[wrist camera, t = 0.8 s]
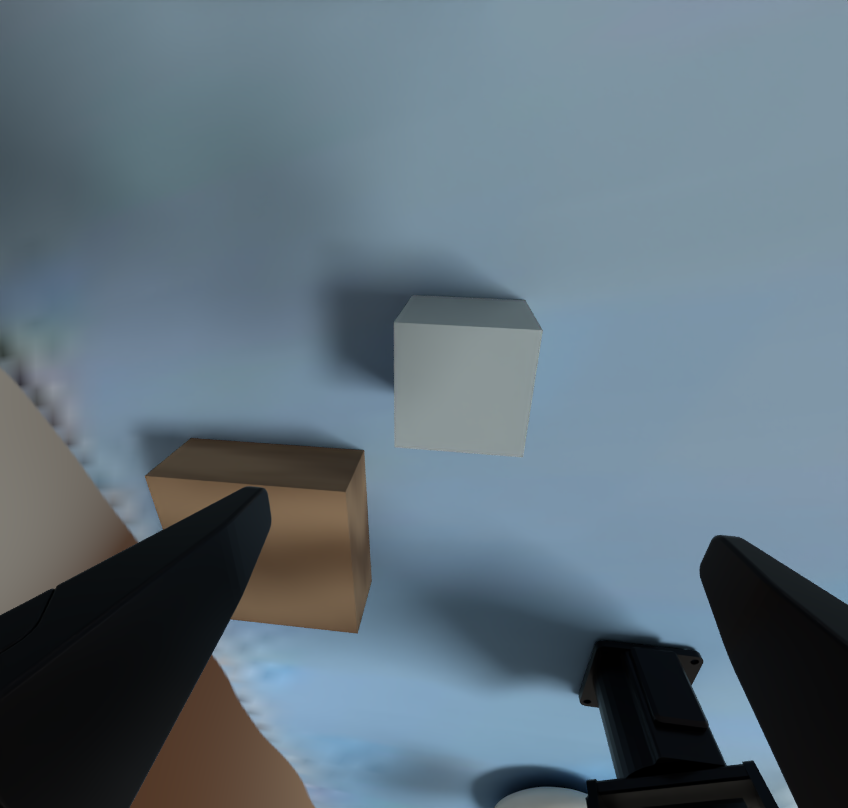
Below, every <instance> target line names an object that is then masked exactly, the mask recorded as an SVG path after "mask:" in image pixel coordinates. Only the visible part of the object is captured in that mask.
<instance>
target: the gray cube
mask: <svg viewBox="0 0 848 808" xmlns="http://www.w3.org/2000/svg"><path fill="white" fill-rule="evenodd" d="M542 331H543V330H542V328H541V326H540V325H539V323H538V321H537V319H536V318H535V316H534V314H533V313H532V311H531V309H530V307H529V306H528V304H527V302H526V300H510V299H489V298H467V297H446V296H425V295H412V297H411V298H410V300H409V301H408V302H407V304H406V305H405V307H404V308H403V310H402V311H401V313H400V314H399V316H398V317H397V319H396V320H395V321H394V419H395V447H398V448H411V449H424V450H436V451H449V452H462V453H474V454H487V455H500V456H513V457H523V454H524V448H525V441H526V435H527V428H528V422H529V415H530V409H531V402H532V396H533V389H534V383H535V376H536V370H537V364H538V357H539V351H540V344H541V338H542Z"/></svg>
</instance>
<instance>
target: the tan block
mask: <svg viewBox="0 0 848 808" xmlns="http://www.w3.org/2000/svg"><path fill="white" fill-rule="evenodd" d="M145 478H146V481H147V484H148V487H149V490H150V493H151V496H152V499H153V502H154V505H155V508H156V511H157V513H158V516H159V519H160V522H161V525H162V528H163V530H164V529H165V528H167V527H169V526H171V525H173V524H175V523H177V522H179V521H181V520H183V519H184V518H186V517H188V516H190V515H192V514H194V513H196V512H198V511H200V510H201V509H203V508H205V507H207V506H209V505H211V504H213V503H215V502H217V501H218V500H220V499H222V498H224V497H226V496H228V495H230V494H232V493H234V492H236V491H237V490H239V489H241V488H243V487H246V486H253V487H262V488H265V489H266V490H267V493H268V497H269V504H270V510H271V517H272V522H271V528H270V531H269V533H268V536H267V538H266V540H265V543H264V545H263V548H262V550H261V553H260V555H259V558H258V560H257V562H256V565H255V567H254V570H253V572H252V575H251V577H250V580H249V582H248V584H247V587H246V589H245V591H244V594H243V596H242V598H241V600H240V602H239V604H238V606H237V608H236V610H235V612H234V613H233V615H232V617H231V619H232V620H241V621H250V622H259V623H268V624H277V625H286V626H295V627H304V628H313V629H322V630H331V631H340V632H349V633H358V630H359V626H360V623H361V619H362V615H363V611H364V608H365V604H366V600H367V596H368V593H369V589H370V585H371V582H372V580H371V562H370V544H369V527H368V509H367V492H366V474H365V456H364V450H353V449H339V448H325V447H311V446H297V445H283V444H269V443H255V442H240V441H226V440H212V439H198V438H190V439H189V440H188V441H187V442H186V443H184V444H183V445H182V446H181V447H179V448H178V449H177V450H176V451H175V452H173V453H172V454H171V455H170V456H168V457H167V458H166V459H165V460H164V461H162V462H161V463H160V464H159V465H157V466H156V467H155V468H154V469H153V470H151V471H150V472H149V473H148V474H147V475H145Z"/></svg>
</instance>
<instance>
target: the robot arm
mask: <svg viewBox="0 0 848 808" xmlns="http://www.w3.org/2000/svg"><path fill="white" fill-rule="evenodd" d="M271 522H272V517H271V510H270V504H269V497H268V493H267V490H266V489H265V488H262V487H253V486H246V487H243V488H241V489H239V490H237V491H236V492H234V493H232V494H230V495H228V496H226V497H224V498H222V499H220V500H218V501H217V502H215V503H213V504H211V505H209V506H207V507H205V508H203V509H201V510H200V511H198V512H196V513H194V514H192V515H190V516H188V517H186V518H184V519H183V520H181V521H179V522H177V523H175V524H173V525H171V526H169V527H167V528H165V529H164V530H162V531H160V532H158V533H156V534H154V535H152V536H150V537H148V538H147V539H145V540H143V541H141V542H139V543H137V544H135V545H133V546H132V547H129V548H128V549H126V550H124V551H122V552H120V553H118V554H116V555H114V556H112V557H111V558H109V559H107V560H105V561H103V562H101V563H99V564H97V565H95V566H94V567H92V568H90V569H88V570H86V571H84V572H82V573H80V574H78V575H76V576H75V577H73V578H71V579H69V580H67V581H65V582H63V583H61V584H59V585H58V586H57V587H56V589H50V590H48V591H46V592H44V593H42V594H40V595H38V596H36V597H35V598H33V599H31V600H29V601H27V602H25V603H23V604H21V605H19V606H17V607H15V608H13V609H11V610H10V611H8V612H6V613H4V614H2V615H0V808H130V806H131V804H132V802H133V800H134V798H135V796H136V795H137V793H138V791H139V789H140V787H141V785H142V783H143V782H144V780H145V778H146V776H147V774H148V772H149V770H150V768H151V767H152V765H153V763H154V761H155V759H156V757H157V755H158V754H159V752H160V750H161V748H162V746H163V744H164V742H165V740H166V738H167V737H168V735H169V733H170V731H171V729H172V727H173V726H174V724H175V722H176V720H177V718H178V716H179V714H180V712H181V711H182V709H183V707H184V705H185V703H186V701H187V699H188V697H189V696H190V694H191V692H192V690H193V688H194V686H195V684H196V682H197V681H198V679H199V677H200V675H201V673H202V671H203V669H204V668H205V666H206V664H207V662H208V660H209V658H210V656H211V655H212V653H213V651H214V649H215V647H216V645H217V643H218V641H219V640H220V638H221V636H222V634H223V632H224V630H225V628H226V627H227V625H228V623H229V621H230V619H231V617H232V615H233V613H234V612H235V610H236V608H237V606H238V604H239V602H240V600H241V598H242V596H243V594H244V591H245V589H246V587H247V584H248V582H249V580H250V577H251V575H252V572H253V570H254V567H255V565H256V562H257V560H258V558H259V555H260V553H261V550H262V548H263V545H264V543H265V540H266V538H267V536H268V533H269V531H270V528H271ZM699 570H700V578H701V581H702V584H703V587H704V590H705V593H706V595H707V598H708V601H709V604H710V607H711V610H712V612H713V615H714V618H715V621H716V624H717V627H718V629H719V632H720V635H721V638H722V641H723V644H724V646H725V649H726V651H727V654H728V656H729V659H730V661H731V664H732V666H733V668H734V670H735V673H736V675H737V677H738V679H739V681H740V683H741V686H742V688H743V690H744V692H745V694H746V696H747V699H748V701H749V703H750V705H751V707H752V709H753V711H754V714H755V716H756V718H757V720H758V722H759V724H760V727H761V729H762V731H763V733H764V735H765V737H766V739H767V742H768V744H769V746H770V748H771V750H772V752H773V754H774V757H775V759H776V761H777V763H778V765H779V767H780V770H781V772H782V774H783V776H784V778H785V780H786V782H787V785H788V787H789V789H790V791H791V793H792V795H793V798H794V800H795V802H796V804H797V806H798V808H848V605H847V604H846V603H844V602H842V601H841V600H839V599H838V598H836V597H835V596H833V595H831V594H830V593H828V592H827V591H825V590H823V589H822V588H820V587H819V586H817V585H816V584H814V583H812V582H811V581H809V580H808V579H806V578H804V577H803V576H801V575H800V574H798V573H797V572H795V571H793V570H792V569H790V568H789V567H787V566H785V565H784V564H782V563H781V562H779V561H777V560H776V559H774V558H773V557H771V556H770V555H768V554H766V553H765V552H763V551H762V550H760V549H758V548H757V547H755V546H754V545H752V544H751V543H749V542H747V541H746V540H744V539H742V538H740V537H735V536H726V535H717V536H715V537H714V538H713V539H712V540H711V542H710V544H709V547H708V549H707V551H706V553H705V555H704V558H703V560H702V562H701V564H700V569H699ZM702 664H703V659H702V657H701V655H700V653H699V652H697V651H692V650H683V649H674V648H666V647H657V646H648V645H639V644H631V643H622V642H613V641H604V640H603V641H598V642H596V643H595V645H594V648H593V651H592V655H591V658H590V661H589V664H588V667H587V670H586V673H585V676H584V680H583V683H582V686H581V689H580V692H579V700H580V703H581V704H582V705H584V706H591V707H598V708H599V710H600V714H601V718H602V722H603V726H604V730H605V734H606V738H607V742H608V746H609V750H610V753H611V757H612V761H613V765H614V769H615V773H616V777H617V779H611V780H603V781H597V780H596V779H593V780H587V781H586V783H587V791H588V796H587V797H586V798H585V799H586V804H587V808H779V807H778V806H777V804H776V802H775V800H774V798H773V796H772V794H771V793H770V791H769V789H768V787H767V785H766V783H765V781H764V779H763V778H762V776H761V774H760V772H759V770H758V768H757V766H756V764H755V763H754V761H744V762H742V763H743V764H739V765H731V766H727V765H726V763H725V761H724V759H723V756H722V754H721V752H720V750H719V748H718V745H717V743H716V741H715V739H714V737H713V734H712V732H711V730H710V728H709V724H708V721H707V719H706V717H705V714H704V712H703V710H702V708H701V706H700V703H699V701H698V699H697V697H696V695H695V693H694V690H693V688H692V686H691V685H692V683H693V682H694V680H695V678H696V676H697V674H698V672H699V670H700V668H701V666H702Z"/></svg>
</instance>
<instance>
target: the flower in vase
mask: <svg viewBox="0 0 848 808" xmlns="http://www.w3.org/2000/svg"><path fill="white" fill-rule="evenodd" d="M587 796H588V794H586V793H583V792H580V791H577V790H573V789H568V788H560V787H535V788H529V789H525V790H521V791H518V792H515V793H513V794H510V795H508V796H506V797H504V798H503V799H501V800H500V801H499V802H498V803H497V804H496V806H495V807H494V808H587V804H586V799H585V798H586V797H587Z"/></svg>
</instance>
